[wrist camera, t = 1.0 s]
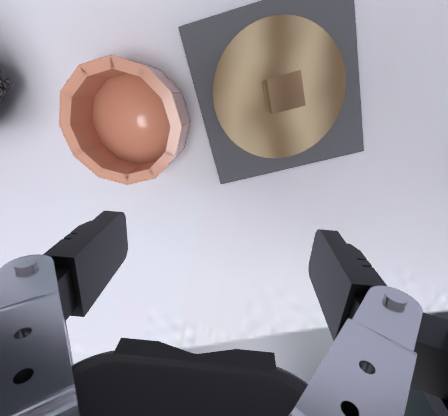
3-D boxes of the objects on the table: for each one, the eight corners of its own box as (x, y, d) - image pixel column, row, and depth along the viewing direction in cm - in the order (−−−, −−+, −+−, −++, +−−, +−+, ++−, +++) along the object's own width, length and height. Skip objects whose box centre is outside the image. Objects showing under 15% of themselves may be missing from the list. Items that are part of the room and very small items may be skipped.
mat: (350, -27, 24) (352, -29, 24) (362, 150, 30) (363, 150, 30) (179, 27, 26) (178, 26, 26) (221, 183, 32) (220, 184, 32)
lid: (336, -3, 25) (361, -27, 20) (348, 140, 29) (371, 149, 24) (197, 40, 26) (189, 27, 21) (230, 168, 31) (229, 182, 26)
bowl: (169, 49, 27) (155, 40, 22) (200, 157, 31) (194, 168, 26) (69, 80, 28) (37, 77, 24) (111, 179, 32) (91, 193, 28)
